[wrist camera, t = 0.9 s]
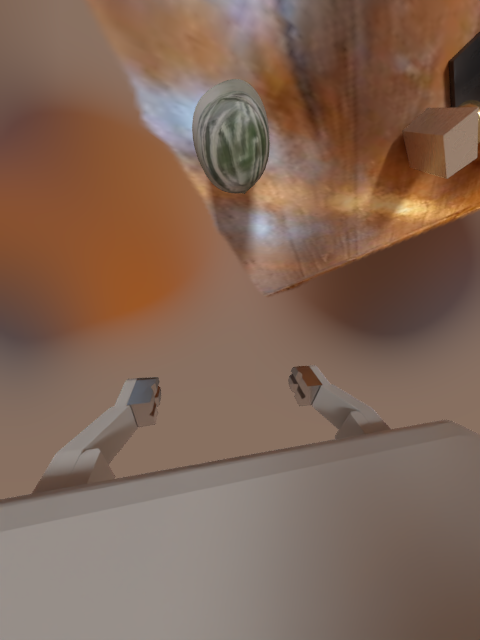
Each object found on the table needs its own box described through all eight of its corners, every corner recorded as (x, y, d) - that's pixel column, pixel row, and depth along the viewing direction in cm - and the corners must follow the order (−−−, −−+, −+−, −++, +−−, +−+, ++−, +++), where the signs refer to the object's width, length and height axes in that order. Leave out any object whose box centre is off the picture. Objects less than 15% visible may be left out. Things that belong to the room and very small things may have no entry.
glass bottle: (262, 149, 36) (300, 187, 18) (218, 175, 39) (214, 230, 21) (243, 73, 29) (274, 15, 11) (191, 112, 32) (150, 115, 14)
